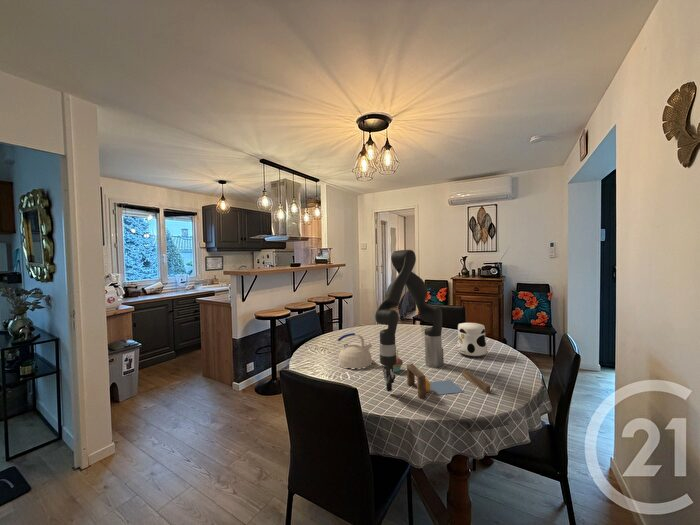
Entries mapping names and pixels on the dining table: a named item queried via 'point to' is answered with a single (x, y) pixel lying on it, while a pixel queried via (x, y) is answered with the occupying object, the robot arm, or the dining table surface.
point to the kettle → (355, 354)
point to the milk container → (471, 339)
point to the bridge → (421, 379)
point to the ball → (427, 385)
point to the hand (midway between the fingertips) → (389, 390)
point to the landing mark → (445, 387)
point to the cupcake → (397, 364)
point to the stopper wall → (476, 381)
